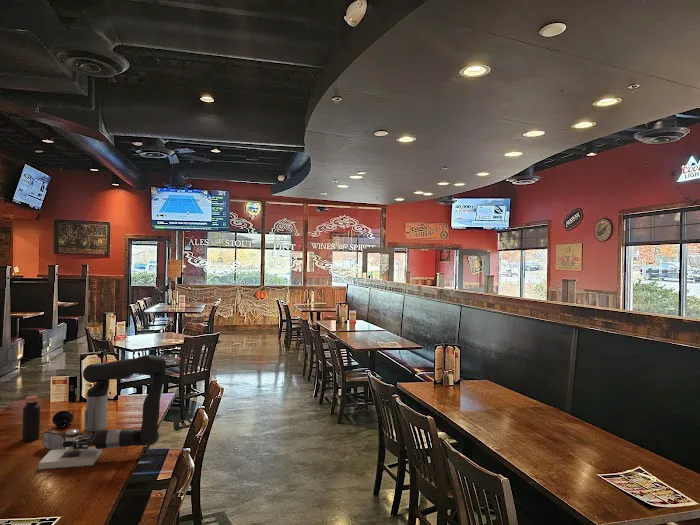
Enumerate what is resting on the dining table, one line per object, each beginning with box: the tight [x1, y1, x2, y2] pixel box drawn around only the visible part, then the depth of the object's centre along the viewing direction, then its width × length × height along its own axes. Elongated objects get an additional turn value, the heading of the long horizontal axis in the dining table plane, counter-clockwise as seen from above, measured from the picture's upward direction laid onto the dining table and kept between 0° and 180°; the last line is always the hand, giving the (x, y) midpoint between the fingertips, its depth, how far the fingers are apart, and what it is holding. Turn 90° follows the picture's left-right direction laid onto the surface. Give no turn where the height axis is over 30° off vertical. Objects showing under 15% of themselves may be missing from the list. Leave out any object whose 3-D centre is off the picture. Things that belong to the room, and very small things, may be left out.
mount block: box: [38, 446, 103, 471], centre depth 203 cm, size 20×14×3 cm
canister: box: [65, 428, 81, 458], centre depth 203 cm, size 5×5×11 cm
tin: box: [41, 428, 66, 450], centre depth 216 cm, size 15×3×8 cm, turn 71°
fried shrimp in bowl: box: [51, 410, 75, 429], centre depth 249 cm, size 9×11×18 cm
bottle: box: [21, 395, 41, 442], centre depth 228 cm, size 7×7×20 cm
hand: (65, 442), depth 203 cm, fingers closed on canister, 5 cm apart
